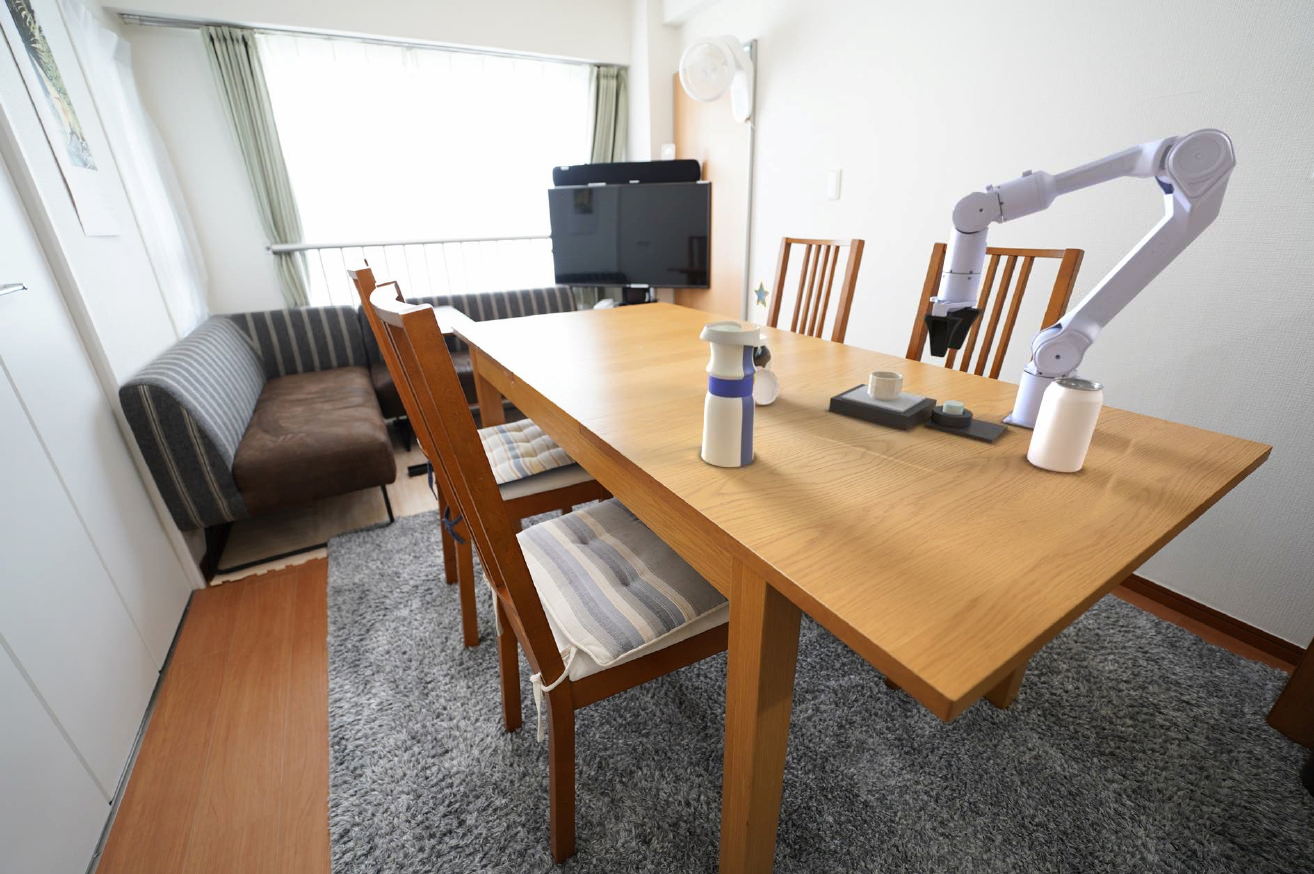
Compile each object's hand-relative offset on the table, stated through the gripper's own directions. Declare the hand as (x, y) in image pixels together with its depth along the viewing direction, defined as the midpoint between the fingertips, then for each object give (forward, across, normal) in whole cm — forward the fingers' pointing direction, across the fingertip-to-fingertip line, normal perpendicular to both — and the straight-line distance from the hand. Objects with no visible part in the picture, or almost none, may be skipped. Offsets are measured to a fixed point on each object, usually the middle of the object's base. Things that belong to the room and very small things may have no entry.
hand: (945, 352), depth 95 cm
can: (+11, +13, +21) cm, 27 cm away
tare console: (+10, +7, +8) cm, 15 cm away
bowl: (+7, +9, -6) cm, 13 cm away
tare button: (+8, +7, +5) cm, 12 cm away
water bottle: (+11, +43, -14) cm, 46 cm away
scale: (+10, +9, -6) cm, 15 cm away
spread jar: (+11, +18, -28) cm, 35 cm away
